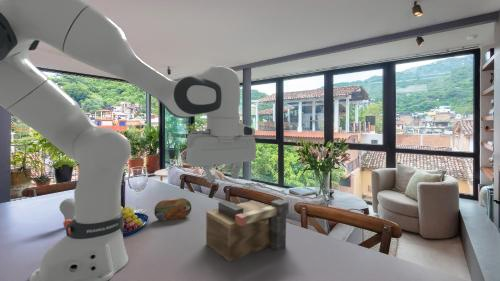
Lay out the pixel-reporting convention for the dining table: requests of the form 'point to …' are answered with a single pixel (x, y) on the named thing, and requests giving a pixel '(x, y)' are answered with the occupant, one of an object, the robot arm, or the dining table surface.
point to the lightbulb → (68, 208)
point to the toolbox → (248, 234)
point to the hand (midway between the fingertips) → (223, 180)
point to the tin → (172, 209)
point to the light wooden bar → (256, 215)
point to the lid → (234, 212)
